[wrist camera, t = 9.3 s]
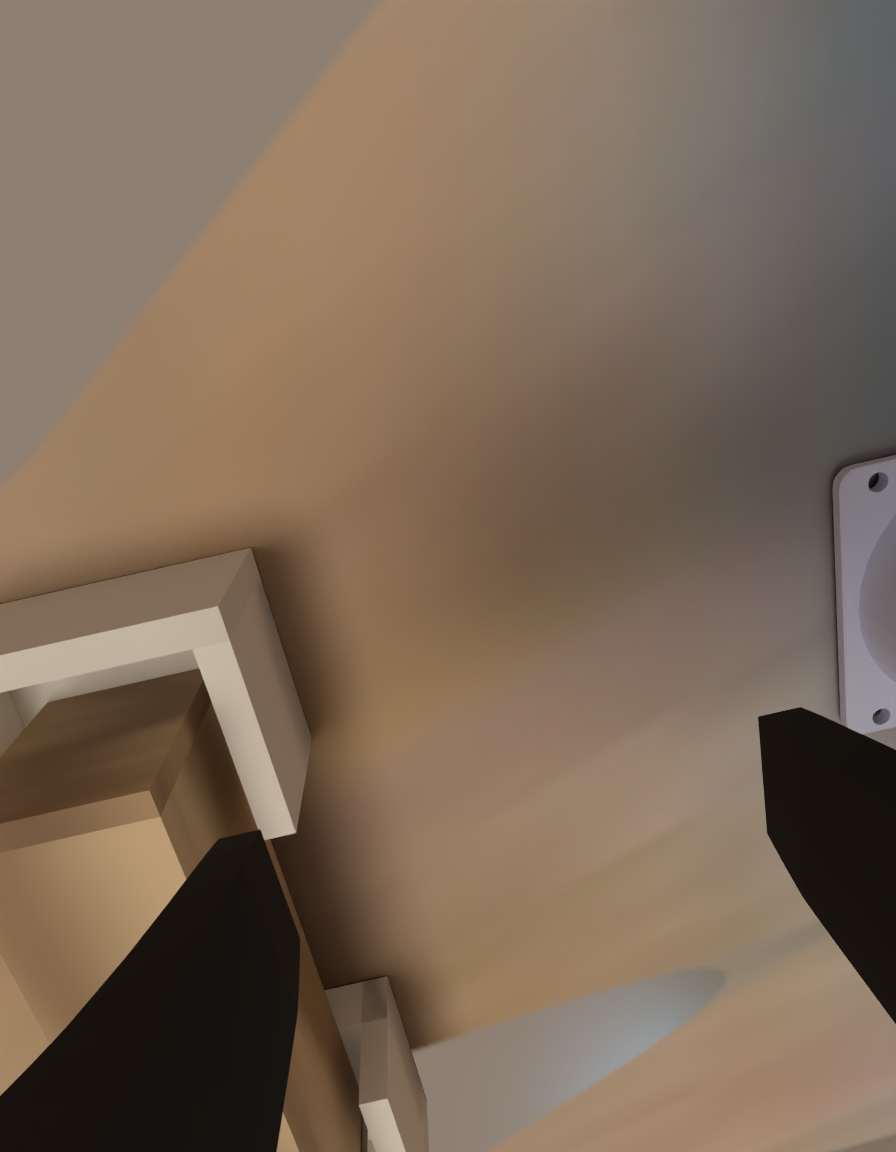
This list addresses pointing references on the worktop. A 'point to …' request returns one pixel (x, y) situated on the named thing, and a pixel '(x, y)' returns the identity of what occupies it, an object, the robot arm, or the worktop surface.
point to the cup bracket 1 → (170, 664)
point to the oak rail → (140, 868)
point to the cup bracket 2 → (381, 1066)
